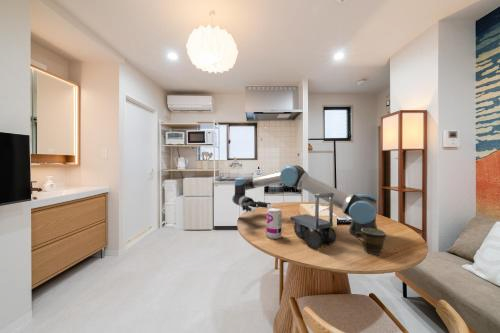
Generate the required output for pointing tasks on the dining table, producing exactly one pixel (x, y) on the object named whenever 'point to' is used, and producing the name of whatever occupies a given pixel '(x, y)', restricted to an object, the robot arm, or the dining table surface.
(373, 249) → the ceramic cup
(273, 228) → the supplement can
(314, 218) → the trolley
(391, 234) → the dining table surface
